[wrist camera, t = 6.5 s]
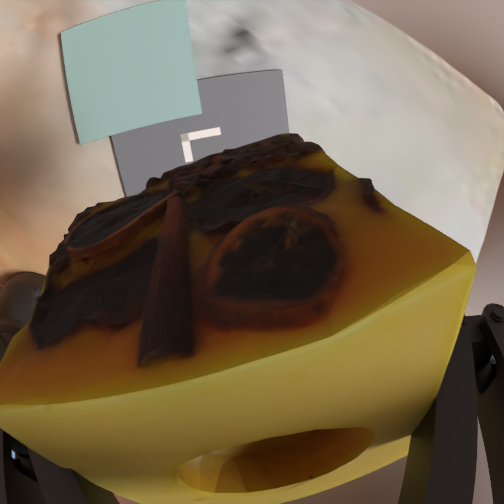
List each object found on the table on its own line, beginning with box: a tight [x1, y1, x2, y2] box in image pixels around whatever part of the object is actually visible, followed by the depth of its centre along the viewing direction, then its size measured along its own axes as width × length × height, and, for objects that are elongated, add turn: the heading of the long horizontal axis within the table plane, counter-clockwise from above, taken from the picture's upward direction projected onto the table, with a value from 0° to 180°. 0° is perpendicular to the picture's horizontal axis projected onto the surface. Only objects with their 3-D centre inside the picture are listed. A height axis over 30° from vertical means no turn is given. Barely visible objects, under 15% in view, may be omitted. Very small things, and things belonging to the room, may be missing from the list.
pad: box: [61, 0, 202, 145], centre depth 24 cm, size 13×13×1 cm
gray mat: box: [111, 70, 289, 197], centre depth 31 cm, size 18×18×1 cm
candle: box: [0, 133, 476, 504], centre depth 10 cm, size 10×10×10 cm
